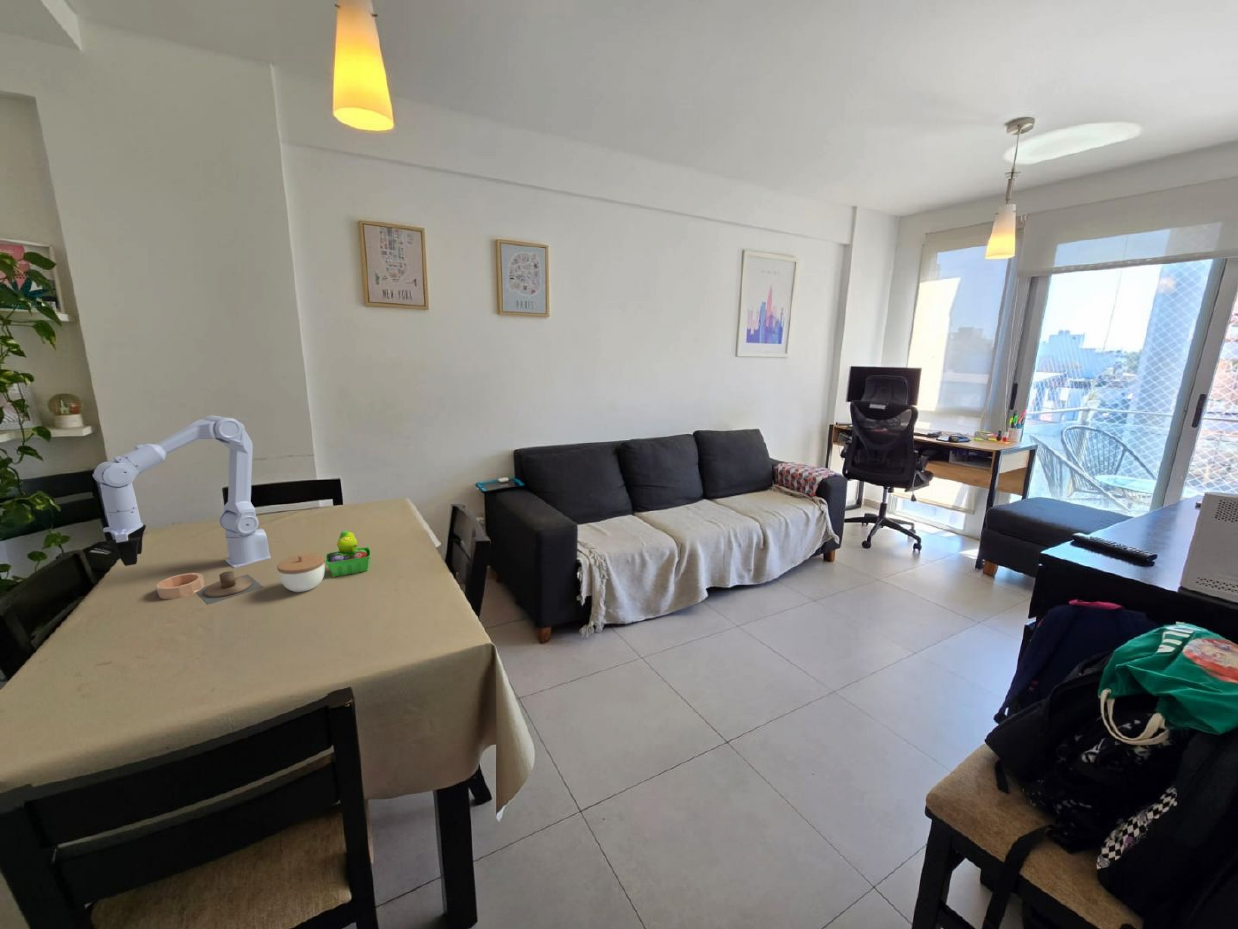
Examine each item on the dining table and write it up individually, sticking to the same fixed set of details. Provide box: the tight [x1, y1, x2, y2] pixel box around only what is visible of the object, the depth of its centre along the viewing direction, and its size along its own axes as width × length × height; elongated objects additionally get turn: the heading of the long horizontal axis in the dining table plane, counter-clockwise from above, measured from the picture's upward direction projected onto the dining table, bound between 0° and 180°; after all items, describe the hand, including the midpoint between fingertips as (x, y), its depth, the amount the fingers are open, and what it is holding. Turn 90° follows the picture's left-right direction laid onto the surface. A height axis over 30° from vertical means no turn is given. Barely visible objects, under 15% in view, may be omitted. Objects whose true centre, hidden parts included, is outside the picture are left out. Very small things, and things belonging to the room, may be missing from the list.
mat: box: [195, 573, 264, 605], centre depth 132 cm, size 12×12×1 cm
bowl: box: [155, 572, 205, 600], centre depth 130 cm, size 9×9×3 cm
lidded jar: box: [276, 553, 326, 593], centre depth 133 cm, size 11×11×9 cm
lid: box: [204, 570, 252, 598], centre depth 131 cm, size 10×10×4 cm
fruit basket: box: [325, 530, 372, 578], centre depth 144 cm, size 11×9×11 cm
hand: (133, 559), depth 126 cm, fingers open, 7 cm apart
